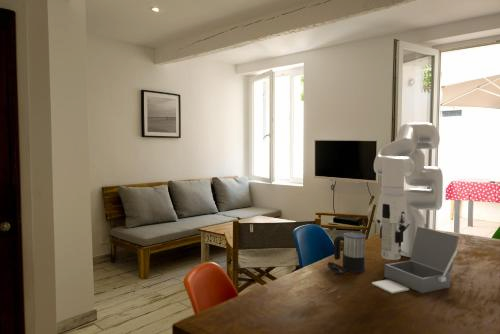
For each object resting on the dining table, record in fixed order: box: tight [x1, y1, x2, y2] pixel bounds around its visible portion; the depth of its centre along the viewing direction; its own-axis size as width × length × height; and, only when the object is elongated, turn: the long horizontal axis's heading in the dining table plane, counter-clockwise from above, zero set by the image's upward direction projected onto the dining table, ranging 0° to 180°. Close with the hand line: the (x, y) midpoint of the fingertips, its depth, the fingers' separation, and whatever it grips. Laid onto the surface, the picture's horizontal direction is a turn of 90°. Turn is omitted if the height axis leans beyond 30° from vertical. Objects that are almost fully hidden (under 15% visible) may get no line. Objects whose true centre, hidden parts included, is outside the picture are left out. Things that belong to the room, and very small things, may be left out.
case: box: [383, 227, 460, 294], centre depth 143 cm, size 19×18×19 cm
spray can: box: [380, 204, 402, 261], centre depth 137 cm, size 7×7×20 cm
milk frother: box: [327, 231, 367, 275], centre depth 155 cm, size 14×16×15 cm
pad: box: [371, 279, 410, 294], centre depth 138 cm, size 10×8×1 cm
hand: (391, 239), depth 137 cm, fingers closed on spray can, 6 cm apart
